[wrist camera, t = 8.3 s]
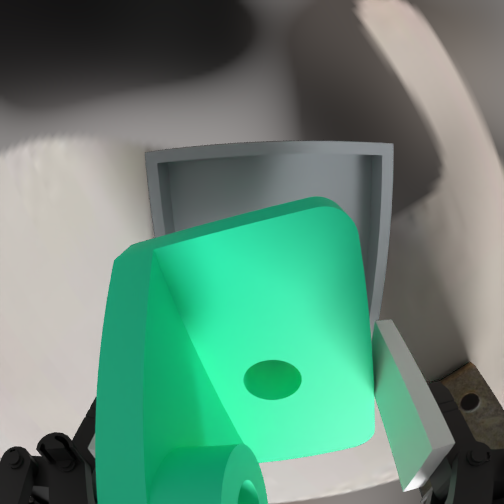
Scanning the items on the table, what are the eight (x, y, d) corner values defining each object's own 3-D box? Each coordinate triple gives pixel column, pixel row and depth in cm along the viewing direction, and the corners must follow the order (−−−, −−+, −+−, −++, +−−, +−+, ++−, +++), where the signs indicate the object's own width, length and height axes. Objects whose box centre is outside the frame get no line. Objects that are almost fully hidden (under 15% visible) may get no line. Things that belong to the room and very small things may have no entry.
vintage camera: (414, 453, 30) (450, 574, 12) (385, 402, 26) (440, 584, 7) (476, 417, 28) (529, 530, 10) (469, 351, 23) (562, 510, 5)
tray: (378, 142, 18) (393, 143, 15) (360, 355, 24) (367, 375, 21) (159, 150, 19) (144, 152, 16) (190, 358, 25) (183, 378, 22)
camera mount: (364, 405, 15) (402, 574, 5) (231, 429, 16) (210, 591, 6) (334, 184, 11) (549, 400, 1) (142, 235, 12) (-47, 433, 2)
